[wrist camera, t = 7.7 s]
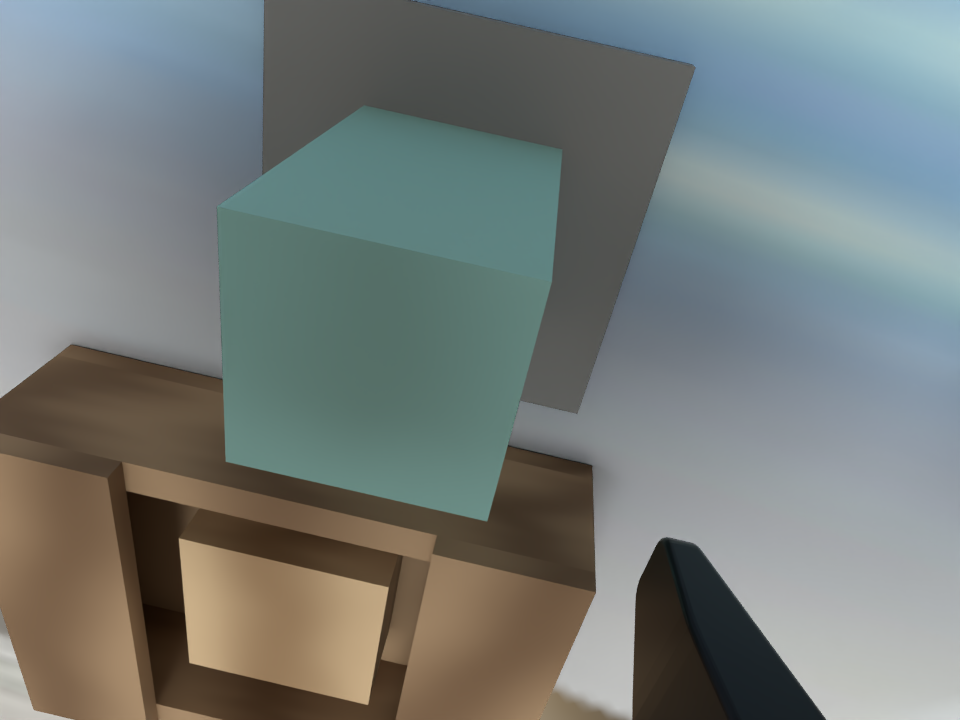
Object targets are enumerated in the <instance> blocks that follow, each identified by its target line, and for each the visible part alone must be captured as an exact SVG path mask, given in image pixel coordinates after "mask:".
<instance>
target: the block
mask: <svg viewBox="0 0 960 720" xmlns="http://www.w3.org/2000/svg"><path fill="white" fill-rule="evenodd" d="M561 162H562V149H558V148H553V147H549V146H544V145H540V144H535V143H531V142H526V141H522V140H517V139H513V138H508V137H504V136H499V135H495V134H490V133H486V132H481V131H477V130H472V129H468V128H464V127H459V126H455V125H450V124H446V123H441V122H437V121H432V120H428V119H423V118H419V117H414V116H410V115H405V114H401V113H396V112H392V111H387V110H383V109H378V108H374V107H369V106H365V105H364V106H363V107H361V108H360V109H358V110H357V111H355V112H354V113H352V114H351V115H349V116H348V117H346V118H345V119H344V120H342V121H341V122H339V123H338V124H336V125H335V126H333V127H332V128H330V129H329V130H328V131H326V132H325V133H323V134H322V135H320V136H319V137H317V138H316V139H314V140H313V141H312V142H310V143H309V144H307V145H306V146H304V147H303V148H301V149H300V150H298V151H297V152H296V153H294V154H293V155H291V156H290V157H288V158H287V159H285V160H284V161H282V162H281V163H280V164H278V165H277V166H275V167H274V168H272V169H271V170H269V171H268V172H266V173H265V174H263V175H262V176H261V177H259V178H258V179H256V180H255V181H253V182H252V183H250V184H249V185H247V186H246V187H245V188H243V189H242V190H240V191H239V192H237V193H236V194H234V195H233V196H231V197H230V198H229V199H227V200H226V201H224V202H223V203H221V204H220V205H218V206H217V227H218V255H219V284H220V313H221V342H222V370H223V399H224V428H225V456H226V462H230V463H234V464H238V465H243V466H247V467H251V468H256V469H260V470H264V471H269V472H273V473H278V474H282V475H286V476H291V477H295V478H299V479H304V480H308V481H312V482H317V483H321V484H326V485H330V486H334V487H339V488H343V489H347V490H352V491H356V492H361V493H365V494H369V495H374V496H378V497H382V498H387V499H391V500H395V501H400V502H404V503H409V504H413V505H417V506H422V507H426V508H430V509H435V510H439V511H443V512H448V513H452V514H457V515H461V516H465V517H470V518H474V519H478V520H483V521H488V517H489V513H490V509H491V506H492V502H493V498H494V495H495V491H496V487H497V483H498V480H499V476H500V472H501V469H502V465H503V461H504V458H505V454H506V450H507V446H508V443H509V439H510V435H511V432H512V428H513V424H514V420H515V417H516V413H517V409H518V406H519V402H520V398H521V395H522V391H523V387H524V383H525V380H526V376H527V372H528V369H529V365H530V361H531V357H532V354H533V350H534V346H535V343H536V339H537V335H538V331H539V328H540V324H541V320H542V317H543V313H544V309H545V306H546V302H547V298H548V294H549V291H550V287H551V283H552V274H553V262H554V249H555V237H556V224H557V212H558V199H559V187H560V175H561Z"/></svg>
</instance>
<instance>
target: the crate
mask: <svg viewBox="0 0 960 720" xmlns="http://www.w3.org/2000/svg"><path fill="white" fill-rule="evenodd" d="M595 593H596V580H595V545H594V510H593V475H592V466H591V465H586V464H582V463H578V462H573V461H569V460H565V459H560V458H556V457H552V456H548V455H543V454H539V453H535V452H530V451H526V450H522V449H517V448H513V447H509V446H507V450H506V454H505V458H504V461H503V465H502V469H501V472H500V476H499V480H498V483H497V487H496V491H495V495H494V498H493V502H492V506H491V509H490V513H489V517H488V521H483V520H478V519H474V518H470V517H465V516H461V515H457V514H452V513H448V512H443V511H439V510H435V509H430V508H426V507H422V506H417V505H413V504H409V503H404V502H400V501H395V500H391V499H387V498H382V497H378V496H374V495H369V494H365V493H361V492H356V491H352V490H347V489H343V488H339V487H334V486H330V485H326V484H321V483H317V482H312V481H308V480H304V479H299V478H295V477H291V476H286V475H282V474H278V473H273V472H269V471H264V470H260V469H256V468H251V467H247V466H243V465H238V464H234V463H230V462H226V456H225V428H224V399H223V380H221V379H216V378H212V377H208V376H203V375H199V374H195V373H191V372H186V371H182V370H178V369H173V368H169V367H165V366H160V365H156V364H152V363H148V362H143V361H139V360H135V359H130V358H126V357H122V356H117V355H113V354H109V353H105V352H100V351H96V350H92V349H87V348H83V347H79V346H74V345H70V346H69V347H67V348H66V349H65V350H63V351H62V352H61V353H59V354H58V355H57V356H56V357H54V358H53V359H52V360H50V361H49V362H48V363H46V364H45V365H44V366H42V367H41V368H40V369H38V370H37V371H36V372H35V373H33V374H32V375H31V376H29V377H28V378H27V379H25V380H24V381H23V382H21V383H20V384H19V385H17V386H16V387H15V388H14V389H12V390H11V391H10V392H8V393H7V394H6V395H4V396H3V397H2V398H0V608H1V611H2V614H3V617H4V620H5V623H6V626H7V629H8V633H9V636H10V639H11V642H12V645H13V648H14V651H15V654H16V657H17V660H18V663H19V666H20V669H21V672H22V675H23V678H24V681H25V684H26V688H27V691H28V694H29V697H30V700H31V703H32V706H33V709H34V710H36V711H40V712H44V713H49V714H53V715H57V716H61V717H66V718H70V719H74V720H540V717H541V715H542V713H543V711H544V708H545V706H546V704H547V702H548V699H549V697H550V695H551V693H552V690H553V688H554V686H555V683H556V681H557V679H558V677H559V674H560V672H561V670H562V668H563V665H564V663H565V661H566V659H567V656H568V654H569V652H570V650H571V647H572V645H573V643H574V641H575V638H576V636H577V634H578V632H579V629H580V627H581V625H582V623H583V620H584V618H585V616H586V614H587V611H588V609H589V607H590V604H591V602H592V600H593V598H594V595H595Z"/></svg>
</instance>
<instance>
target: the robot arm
mask: <svg viewBox="0 0 960 720" xmlns="http://www.w3.org/2000/svg"><path fill="white" fill-rule="evenodd" d="M632 720H826V719H825V717H824V716H823V715H822V713H821V712H820V710H819V709H818V708H817V706H816V705H815V704H814V702H813V701H812V700H811V698H810V697H809V696H808V694H807V693H806V691H805V690H804V689H803V687H802V686H801V685H800V683H799V682H798V681H797V679H796V678H795V677H794V675H793V674H792V672H791V671H790V670H789V668H788V667H787V666H786V664H785V663H784V662H783V660H782V659H781V658H780V656H779V655H778V654H777V652H776V651H775V649H774V648H773V647H772V645H771V644H770V643H769V641H768V640H767V639H766V637H765V636H764V635H763V633H762V632H761V630H760V629H759V628H758V626H757V625H756V624H755V622H754V621H753V620H752V618H751V617H750V616H749V614H748V613H747V611H746V610H745V609H744V607H743V606H742V605H741V603H740V602H739V601H738V599H737V598H736V597H735V595H734V594H733V593H732V591H731V590H730V588H729V587H728V586H727V584H726V583H725V582H724V580H723V579H722V578H721V576H720V575H719V574H718V572H717V571H716V569H715V568H714V567H713V565H712V564H711V563H710V561H709V560H708V559H707V557H706V556H705V555H704V553H703V552H702V550H701V549H700V548H699V547H698V546H697V545H695V544H693V543H690V542H686V541H682V540H677V539H673V538H668V537H667V538H662V539H661V540H660V541H659V542H658V544H657V545H656V547H655V549H654V551H653V553H652V555H651V558H650V560H649V562H648V564H647V566H646V568H645V570H644V572H643V574H642V576H641V578H640V580H639V583H638V587H637V593H636V608H635V641H634V674H633V718H632Z"/></svg>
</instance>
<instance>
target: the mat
mask: <svg viewBox="0 0 960 720" xmlns="http://www.w3.org/2000/svg"><path fill="white" fill-rule="evenodd" d="M694 70H695V66H694V65H692V64H688V63H683V62H679V61H674V60H670V59H666V58H661V57H657V56H653V55H648V54H644V53H639V52H635V51H631V50H626V49H622V48H617V47H613V46H609V45H604V44H600V43H595V42H591V41H587V40H582V39H578V38H573V37H569V36H565V35H560V34H556V33H551V32H547V31H543V30H538V29H534V28H530V27H525V26H521V25H516V24H512V23H508V22H503V21H499V20H494V19H490V18H486V17H481V16H477V15H472V14H468V13H464V12H459V11H455V10H450V9H446V8H442V7H437V6H433V5H429V4H424V3H420V2H415V1H411V0H264V72H263V173H262V175H263V174H265V173H266V172H268V171H269V170H271V169H272V168H274V167H275V166H277V165H278V164H280V163H281V162H282V161H284V160H285V159H287V158H288V157H290V156H291V155H293V154H294V153H296V152H297V151H298V150H300V149H301V148H303V147H304V146H306V145H307V144H309V143H310V142H312V141H313V140H314V139H316V138H317V137H319V136H320V135H322V134H323V133H325V132H326V131H328V130H329V129H330V128H332V127H333V126H335V125H336V124H338V123H339V122H341V121H342V120H344V119H345V118H346V117H348V116H349V115H351V114H352V113H354V112H355V111H357V110H358V109H360V108H361V107H363V106H364V105H365V106H369V107H374V108H378V109H383V110H387V111H392V112H396V113H401V114H405V115H410V116H414V117H419V118H423V119H428V120H432V121H437V122H441V123H446V124H450V125H455V126H459V127H464V128H468V129H472V130H477V131H481V132H486V133H490V134H495V135H499V136H504V137H508V138H513V139H517V140H522V141H526V142H531V143H535V144H540V145H544V146H549V147H553V148H558V149H562V162H561V175H560V187H559V199H558V212H557V224H556V237H555V249H554V262H553V274H552V283H551V287H550V291H549V294H548V298H547V302H546V306H545V309H544V313H543V317H542V320H541V324H540V328H539V331H538V335H537V339H536V343H535V346H534V350H533V354H532V357H531V361H530V365H529V369H528V372H527V376H526V380H525V383H524V387H523V391H522V395H521V398H520V401H525V402H529V403H533V404H538V405H542V406H546V407H551V408H555V409H559V410H564V411H568V412H572V413H576V414H577V413H578V410H579V407H580V405H581V402H582V399H583V396H584V393H585V390H586V387H587V384H588V381H589V378H590V375H591V372H592V369H593V366H594V364H595V361H596V358H597V355H598V352H599V349H600V346H601V343H602V340H603V337H604V334H605V331H606V328H607V325H608V322H609V320H610V317H611V314H612V311H613V308H614V305H615V302H616V299H617V296H618V293H619V290H620V287H621V284H622V281H623V278H624V276H625V273H626V270H627V267H628V264H629V261H630V258H631V255H632V252H633V249H634V246H635V243H636V240H637V237H638V235H639V232H640V229H641V226H642V223H643V220H644V217H645V214H646V211H647V208H648V205H649V202H650V199H651V196H652V193H653V191H654V188H655V185H656V182H657V179H658V176H659V173H660V170H661V167H662V164H663V161H664V158H665V155H666V152H667V150H668V147H669V144H670V141H671V138H672V135H673V132H674V129H675V126H676V123H677V120H678V117H679V114H680V111H681V108H682V106H683V103H684V100H685V97H686V94H687V91H688V88H689V85H690V82H691V79H692V76H693V73H694Z"/></svg>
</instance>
